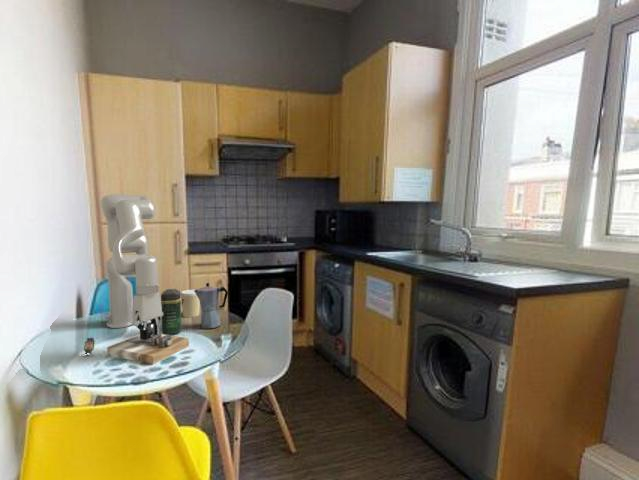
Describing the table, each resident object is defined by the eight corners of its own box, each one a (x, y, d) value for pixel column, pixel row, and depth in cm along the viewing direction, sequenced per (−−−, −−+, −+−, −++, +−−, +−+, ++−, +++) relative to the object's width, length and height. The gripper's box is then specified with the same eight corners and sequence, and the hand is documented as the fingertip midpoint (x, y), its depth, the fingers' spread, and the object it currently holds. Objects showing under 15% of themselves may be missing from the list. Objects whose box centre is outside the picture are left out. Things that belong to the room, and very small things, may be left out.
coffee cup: (184, 312, 187) (183, 289, 186) (202, 312, 188) (202, 289, 187) (179, 318, 178) (178, 294, 177) (198, 317, 179) (198, 293, 178)
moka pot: (197, 323, 171) (196, 281, 169) (230, 322, 172) (229, 280, 170) (191, 329, 161) (190, 285, 159) (227, 329, 163) (226, 285, 161)
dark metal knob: (138, 341, 137) (138, 324, 137) (147, 338, 141) (146, 321, 140) (166, 346, 133) (165, 328, 132) (174, 342, 136) (173, 325, 136)
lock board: (107, 355, 134) (106, 338, 133) (146, 338, 151) (146, 323, 150) (153, 364, 126) (152, 346, 126) (188, 345, 143) (188, 330, 142)
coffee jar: (181, 334, 155) (180, 292, 153) (161, 336, 153) (159, 293, 151) (182, 327, 164) (180, 287, 163) (163, 329, 162) (161, 288, 160)
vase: (84, 351, 137) (85, 335, 137) (100, 351, 138) (100, 336, 138) (77, 357, 132) (77, 341, 131) (93, 357, 133) (93, 341, 132)
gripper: (156, 284, 145) (158, 329, 147) (120, 293, 130) (122, 343, 131) (171, 286, 143) (173, 331, 144) (136, 295, 127) (138, 346, 129)
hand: (149, 336), depth 138 cm, fingers closed on dark metal knob, 4 cm apart
